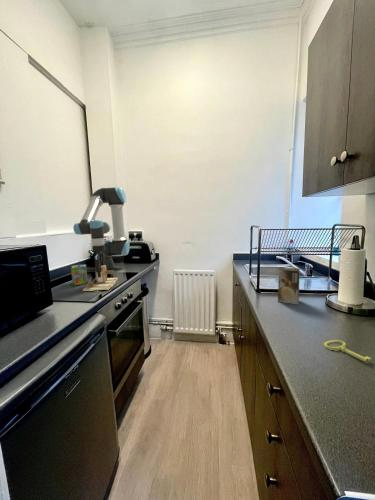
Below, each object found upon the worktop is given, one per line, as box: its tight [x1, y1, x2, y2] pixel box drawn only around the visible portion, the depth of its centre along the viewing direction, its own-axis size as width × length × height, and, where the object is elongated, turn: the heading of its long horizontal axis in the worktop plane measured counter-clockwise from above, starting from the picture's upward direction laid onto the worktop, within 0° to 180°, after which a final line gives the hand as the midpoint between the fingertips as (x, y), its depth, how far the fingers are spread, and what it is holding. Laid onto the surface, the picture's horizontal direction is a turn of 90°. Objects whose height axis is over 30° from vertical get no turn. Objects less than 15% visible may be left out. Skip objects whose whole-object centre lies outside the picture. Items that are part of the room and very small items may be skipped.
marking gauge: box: [94, 265, 115, 283], centre depth 144 cm, size 6×10×10 cm, turn 94°
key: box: [323, 339, 372, 364], centre depth 70 cm, size 7×12×2 cm, turn 38°
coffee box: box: [277, 266, 301, 305], centre depth 108 cm, size 9×6×16 cm
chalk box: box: [70, 260, 89, 287], centre depth 148 cm, size 9×9×15 cm
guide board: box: [82, 277, 119, 292], centre depth 142 cm, size 22×15×4 cm
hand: (102, 280), depth 145 cm, fingers closed on marking gauge, 6 cm apart
